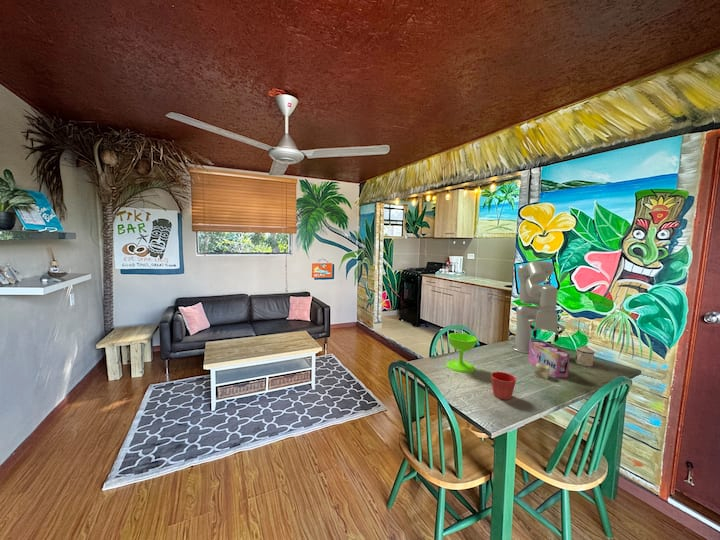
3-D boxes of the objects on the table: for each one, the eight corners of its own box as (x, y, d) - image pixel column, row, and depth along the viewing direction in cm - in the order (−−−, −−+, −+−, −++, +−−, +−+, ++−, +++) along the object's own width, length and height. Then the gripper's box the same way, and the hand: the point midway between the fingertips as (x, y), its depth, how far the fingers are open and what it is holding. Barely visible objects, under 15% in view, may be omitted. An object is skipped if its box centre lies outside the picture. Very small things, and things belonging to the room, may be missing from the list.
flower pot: (485, 390, 146) (486, 371, 145) (506, 390, 147) (507, 371, 146) (496, 401, 136) (498, 381, 135) (519, 401, 137) (521, 381, 136)
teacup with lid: (579, 359, 191) (580, 342, 190) (595, 365, 184) (597, 346, 182) (569, 363, 185) (571, 345, 184) (586, 368, 177) (588, 349, 176)
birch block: (534, 376, 165) (535, 365, 164) (536, 372, 169) (537, 362, 169) (546, 379, 161) (547, 368, 160) (548, 376, 166) (549, 365, 165)
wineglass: (473, 363, 180) (475, 334, 178) (476, 374, 164) (478, 343, 163) (446, 360, 184) (447, 331, 182) (446, 370, 168) (448, 339, 167)
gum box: (570, 378, 163) (572, 354, 162) (557, 378, 162) (559, 354, 161) (538, 361, 187) (540, 340, 186) (527, 361, 186) (529, 340, 185)
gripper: (528, 307, 164) (526, 337, 166) (566, 312, 153) (563, 344, 155) (531, 305, 170) (528, 334, 171) (567, 310, 159) (564, 341, 160)
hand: (545, 339), depth 163 cm, fingers open, 9 cm apart
